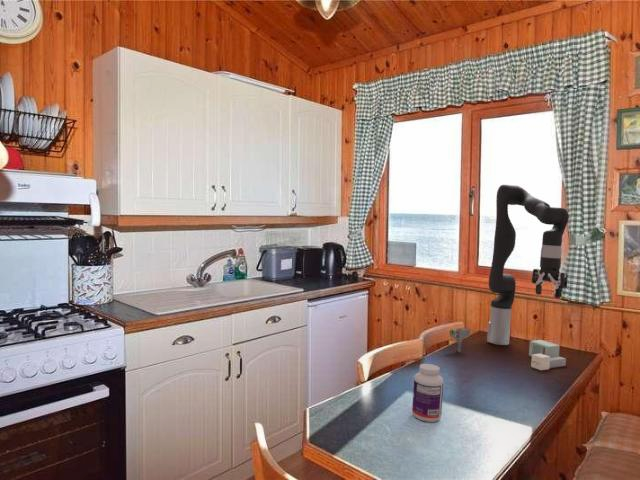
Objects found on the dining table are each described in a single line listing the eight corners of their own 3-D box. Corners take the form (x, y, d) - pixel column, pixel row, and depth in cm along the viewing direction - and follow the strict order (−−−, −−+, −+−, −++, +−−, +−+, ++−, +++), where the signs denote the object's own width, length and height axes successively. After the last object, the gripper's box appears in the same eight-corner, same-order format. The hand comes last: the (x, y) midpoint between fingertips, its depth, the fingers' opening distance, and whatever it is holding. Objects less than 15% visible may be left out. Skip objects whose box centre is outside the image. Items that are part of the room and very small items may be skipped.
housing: (539, 354, 195) (540, 339, 195) (558, 360, 187) (559, 345, 186) (528, 355, 192) (529, 340, 191) (547, 362, 184) (548, 346, 183)
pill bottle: (419, 408, 130) (422, 360, 129) (445, 417, 125) (449, 367, 124) (406, 416, 124) (409, 366, 123) (433, 426, 119) (436, 373, 118)
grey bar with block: (557, 363, 183) (558, 351, 183) (567, 366, 179) (568, 354, 179) (528, 367, 176) (529, 354, 175) (538, 370, 172) (539, 358, 172)
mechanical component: (447, 351, 191) (448, 328, 191) (465, 350, 195) (466, 327, 195) (451, 353, 188) (453, 330, 188) (470, 351, 193) (471, 329, 192)
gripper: (573, 258, 174) (570, 299, 174) (541, 255, 187) (538, 293, 187) (561, 258, 170) (557, 299, 171) (529, 254, 183) (526, 293, 184)
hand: (547, 296), depth 179 cm, fingers open, 8 cm apart
